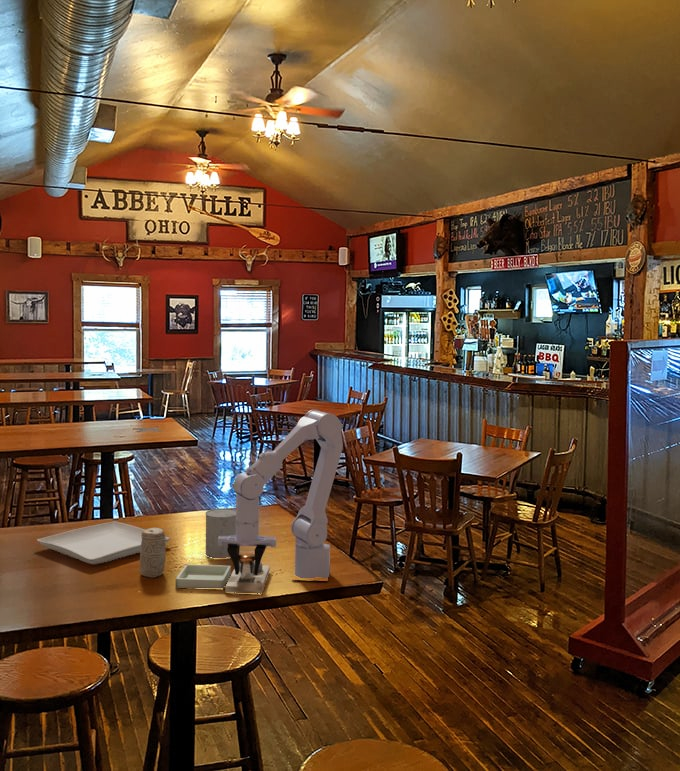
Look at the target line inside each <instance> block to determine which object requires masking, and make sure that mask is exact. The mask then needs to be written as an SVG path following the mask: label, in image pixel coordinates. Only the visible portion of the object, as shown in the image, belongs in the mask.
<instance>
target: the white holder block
mask: <svg viewBox="0 0 680 771" xmlns="http://www.w3.org/2000/svg"><path fill="white" fill-rule="evenodd" d="M239 567H240V569H239V574H238V575H236V574H235V569H233V570H232V571H231V576H230V578H229V580H228V582H227V584H226V586H225V588H224V590H225V591H224V592H234V593H235V592H236V593H257V594H258V593H260V594H261V593H262V591H263V592H264V590H263V588H264V589H265V587H264V585H265V582H266V579H267V577H268V578H269V576H268V574H269V571H271V565H267V564H265V565H263V563H262V562H261V561H260V565H259V571H258V575H254V570H255V560H254V561H253V583H248V582H241V562H239ZM269 575H270V574H269ZM267 580H268V579H267ZM266 583H267V582H266ZM265 586H266V585H265ZM262 594H263V593H262Z"/></svg>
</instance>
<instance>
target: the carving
mask: <svg viewBox="0 0 680 771" xmlns="http://www.w3.org/2000/svg"><path fill="white" fill-rule="evenodd" d="M141 537H142V542H141V551H140V553H139V554H140V555H139V571H140V572H139V573H140V574H141V575H142V576H144V577H146V578H150V579H151V578H152V579H153V578H158V577H161V576H162V575H163V573H164V570H165V565H166V543H165V541H166V537H167V536H166V533H165V531H164V529H163V528H160V527H149V528H147V529H145V530H144V531H143V532H142V535H141ZM157 576H158V577H157Z"/></svg>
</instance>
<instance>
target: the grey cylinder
mask: <svg viewBox="0 0 680 771" xmlns="http://www.w3.org/2000/svg"><path fill="white" fill-rule="evenodd" d="M234 535H236V509H234V508H223V507H221V508H212V509H209V510H207V511H205V554H206V555H207V556H209V557H212V558H226V557H230V555H229V554H228V551H227V548H228V545H222V546H218V538H219V536H234Z"/></svg>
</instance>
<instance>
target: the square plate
mask: <svg viewBox="0 0 680 771" xmlns="http://www.w3.org/2000/svg"><path fill="white" fill-rule="evenodd" d="M144 530H146V529H144V528H141V527H138V526H135V525H131V524H127V523H123V522H120V521H116V520H115V521H114V520H113V521H109V522H103V523H99V524H93V525H89V526H84V527H79V528H76V529H71V530H69V531H64V532H59V533H57V534H52V535H49V536H45V537H41V538H37V539H36V541H37V542H38V543H39V544H41V545H42V546H43V547H45V548H47V549H50V550H53V551H55V552H58V553H59V552H60V554H61V555H65V556H67V555H68V556H67V557H71V558H72V559H73V558H74V559H76V560H78V559H79V561H81V562H84V563H87V564H91V565H99V564H103V563H104V562H105V563H108V561H109V562H113V561H115V559H116V560H119V559H118V558H120V559H123V558H126V556H127V557H129V555H130V556H132V555H133V556H134V555H136V553H137V554H140V551H141V542H142V537H141V535H142V532H143V531H144ZM165 537H166V541H165V544H166V543H168V542H169V541H170V540H171V538H170V537H168V536H165ZM122 557H123V558H122ZM112 560H113V561H112Z"/></svg>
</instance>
